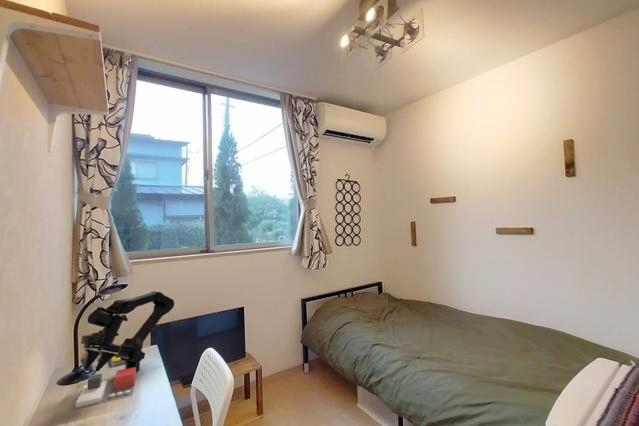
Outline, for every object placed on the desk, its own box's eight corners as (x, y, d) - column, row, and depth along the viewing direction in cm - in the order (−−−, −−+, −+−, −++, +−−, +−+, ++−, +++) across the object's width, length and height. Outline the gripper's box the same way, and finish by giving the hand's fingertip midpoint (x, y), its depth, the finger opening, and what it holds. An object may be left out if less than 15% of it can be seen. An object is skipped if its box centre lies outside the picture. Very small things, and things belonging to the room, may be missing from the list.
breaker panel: (82, 390, 122) (82, 383, 123) (136, 379, 131) (136, 372, 131) (70, 413, 107) (70, 405, 107) (132, 398, 116) (132, 391, 116)
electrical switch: (96, 373, 136) (94, 353, 136) (81, 378, 134) (79, 357, 134) (98, 365, 144) (96, 346, 144) (84, 369, 142) (82, 350, 142)
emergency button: (131, 345, 158) (135, 355, 147) (130, 354, 158) (135, 364, 147) (109, 350, 153) (112, 360, 141) (109, 359, 152) (112, 370, 141)
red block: (116, 382, 127) (117, 370, 127) (135, 378, 130) (135, 366, 130) (114, 389, 121) (114, 377, 121) (134, 385, 124) (134, 373, 124)
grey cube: (89, 384, 121) (90, 375, 121) (101, 382, 123) (102, 373, 123) (87, 389, 118) (87, 380, 118) (99, 386, 120) (100, 377, 120)
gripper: (81, 324, 126) (59, 364, 118) (102, 325, 117) (80, 369, 109) (107, 330, 134) (88, 369, 126) (129, 331, 125) (110, 373, 116)
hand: (91, 370), depth 119 cm, fingers open, 9 cm apart
